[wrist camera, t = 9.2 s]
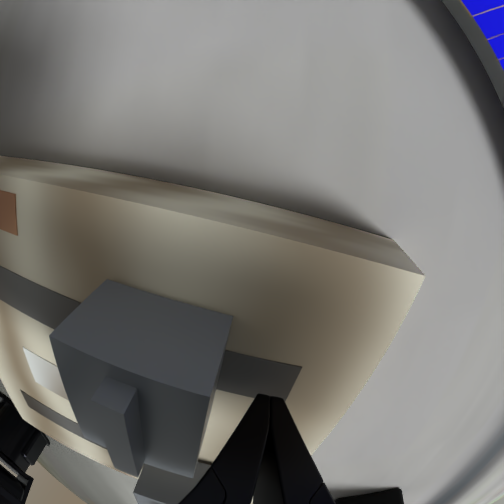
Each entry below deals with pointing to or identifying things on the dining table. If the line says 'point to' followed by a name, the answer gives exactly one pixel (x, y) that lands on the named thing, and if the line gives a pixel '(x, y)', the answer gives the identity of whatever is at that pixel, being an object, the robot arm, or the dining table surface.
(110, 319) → the switch tab
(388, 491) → the battery
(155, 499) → the switch tab
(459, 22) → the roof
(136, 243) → the switch board
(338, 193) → the dining table surface
